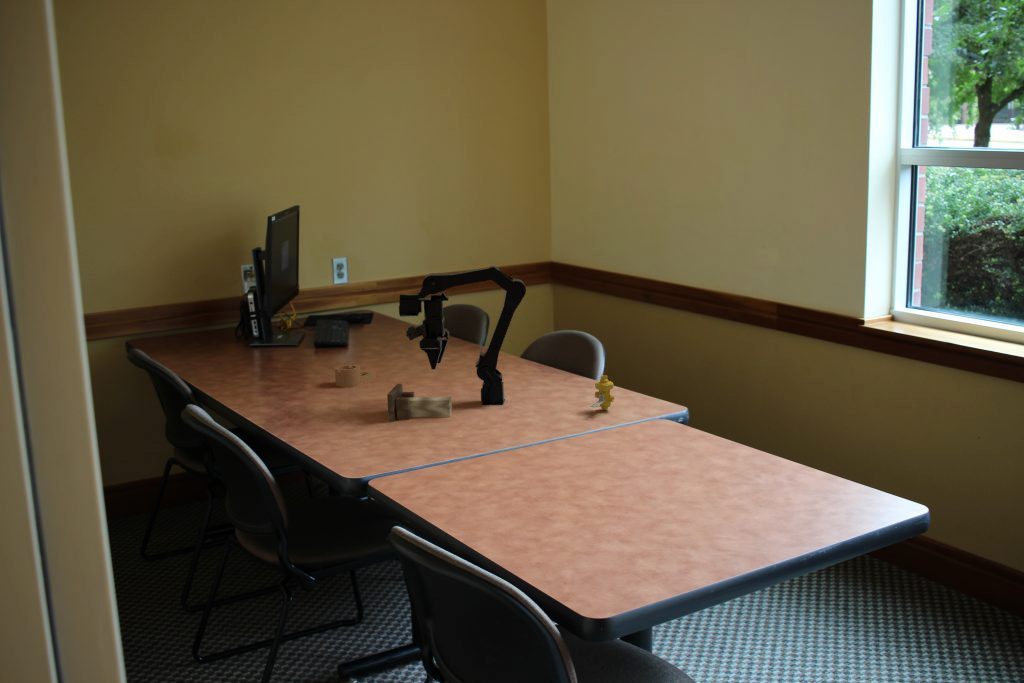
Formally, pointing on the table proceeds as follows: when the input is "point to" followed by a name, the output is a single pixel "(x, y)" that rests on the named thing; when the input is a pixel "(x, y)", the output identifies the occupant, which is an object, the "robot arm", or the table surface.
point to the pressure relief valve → (603, 393)
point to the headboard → (398, 404)
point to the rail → (430, 406)
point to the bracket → (352, 376)
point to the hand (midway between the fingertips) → (436, 366)
